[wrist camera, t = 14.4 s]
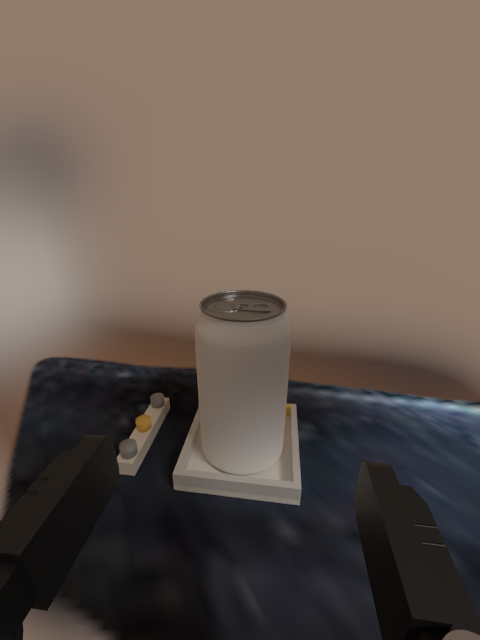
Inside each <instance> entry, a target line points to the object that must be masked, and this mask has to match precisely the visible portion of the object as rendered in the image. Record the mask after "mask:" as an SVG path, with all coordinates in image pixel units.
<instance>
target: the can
mask: <svg viewBox="0 0 480 640" xmlns="http://www.w3.org/2000/svg"><path fill="white" fill-rule="evenodd" d="M286 308H287V304H286V302H285V301H284V300H283V299H282V298H280V297H278V296H276V295H273V294H269V293H265V292H260V291H249V290H236V291H225V292H220V293H216V294H213V295H210V296H208V297H206V298H204V299H203V300H202V301H201V302H200V309H201V312H200V314H199V317H198V319H197V321H196V324H195V350H196V366H197V382H198V398H199V413H200V427H201V441H202V449H203V453H204V455H205V457H206V458H207V460H208V461H209V462H210V463H211V464H212V465H213V466H215V467H216V468H218V469H220V470H222V471H224V472H226V473H229V474H233V475H241V476H244V475H252V474H256V473H259V472H262V471H264V470H266V469H267V468H269V467H270V466H272V465H273V464H274V463H275V462H276V461H277V460H278V458H279V457H280V455H281V452H282V448H283V440H284V429H285V416H286V403H287V390H288V376H289V362H290V361H289V360H290V348H291V324H290V322H289V319H288V317H287V315H286V312H285V310H286Z"/></svg>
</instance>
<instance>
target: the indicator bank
mask: <svg viewBox="0 0 480 640" xmlns="http://www.w3.org/2000/svg"><path fill="white" fill-rule="evenodd" d="M150 400H151V404H150V405H149V407H148V409H147V410H146V412H145V413H144V415H141V416H139V417H137V418H136V428H135V429H134V431H133V432H132V434H131V436H130V437H129V439H126V440H124V441H122V442H121V443H120V445H119V450H120V453H119V455H118V456H117V461H118V465H119V474H123V475H131V476H135V475H136V473H137V471H138V469H139V467H140V465H141V463H142V461H143V459H144V458H145V456H146V454H147V452H148V450H149V448H150V446H151V444H152V442H153V440H154V438H155V436H156V435H157V433H158V431H159V429H160V427H161V425H162V423H163V421H164V419H165V417H166V415H167V413H168V412H169V410H170V401H169V398H164V395H163V394H162V393H155V394H153V395H151V397H150Z"/></svg>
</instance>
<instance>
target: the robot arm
mask: <svg viewBox="0 0 480 640" xmlns="http://www.w3.org/2000/svg"><path fill="white" fill-rule="evenodd" d="M118 479H119V465H118V461H117V457H116V452H115V448H114V444H113V440H112V438H111V437H110V436H101V435H90V434H88V435H85V436H84V437H83V438H82V439H81V440H80V441H79V443H78V444H77V445H76V446H75V447H74V449H73V450H66V451H65V452H64V453H62V454H61V455H60V456H58V457H57V458H55V459H54V460H53V461H51V462H50V463H49V465H48V466H47V467H46V468H45V469H44V470H43V472H42V473H41V474H40V475H39V476H38V479H37V480H36V481H34V482H33V483H32V485H31V486H30V487H29V488H28V489H27V492H26V494H23V495H22V496H21V498H20V499H19V500H18V501H17V502H16V503H15V505H14V506H13V507H12V508H11V509H10V511H9V512H8V513H7V514H6V515H5V516H4V518H3V519H2V520H1V521H0V640H23V624H22V623H23V621H24V619H25V618H26V616H27V614H28V613H29V611H30V609H31V608H34V609H39V610H45V611H47V610H48V608H49V607H50V605H51V603H52V601H53V599H54V598H55V596H56V594H57V592H58V590H59V589H60V587H61V585H62V583H63V581H64V580H65V578H66V576H67V574H68V572H69V571H70V569H71V567H72V565H73V564H74V562H75V560H76V558H77V556H78V555H79V553H80V551H81V549H82V547H83V546H84V544H85V542H86V540H87V538H88V537H89V535H90V533H91V531H92V530H93V528H94V526H95V524H96V522H97V521H98V519H99V517H100V515H101V513H102V512H103V510H104V508H105V506H106V504H107V503H108V501H109V499H110V497H111V495H112V494H113V492H114V490H115V488H116V486H117V483H118ZM354 505H355V516H356V521H357V526H358V530H359V535H360V540H361V544H362V549H363V553H364V558H365V562H366V567H367V572H368V576H369V581H370V585H371V590H372V594H373V599H374V604H375V608H376V613H377V617H378V622H379V626H380V631H381V636H382V640H480V620H479V618H478V616H477V613H476V611H475V609H474V607H473V605H472V602H471V600H470V598H469V596H468V594H467V591H466V589H465V587H464V585H463V583H462V580H461V578H460V576H459V574H458V572H457V569H456V567H455V565H454V563H453V560H452V558H451V556H450V554H449V552H448V549H447V548H445V543H444V541H443V538H442V536H441V534H440V532H439V530H437V525H436V523H435V521H434V519H433V516H432V514H431V512H430V510H429V507H428V505H427V504H426V503H425V501H424V500H423V499H422V498H421V497H420V496H419V494H418V493H417V492H416V491H415V490H414V489H413V488H412V486H404V485H399V483H398V480H397V478H396V475H395V473H394V470H393V468H392V466H391V465H390V464H384V463H373V462H362V464H361V468H360V473H359V477H358V482H357V487H356V492H355V500H354Z"/></svg>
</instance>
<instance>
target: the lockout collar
mask: <svg viewBox="0 0 480 640" xmlns="http://www.w3.org/2000/svg"><path fill="white" fill-rule="evenodd" d="M172 475H173V484H174V490H180V491H188V492H196V493H204V494H212V495H220V496H228V497H236V498H244V499H252V500H260V501H268V502H276V503H284V504H292V505H300V497H301V475H300V459H299V443H298V427H297V411H296V404H288V403H286V416H285V429H284V440H283V448H282V452H281V455H280V457H279V458H278V460H277V461H276V462H275V463H274V464H273V465H272V466H270V467H269V468H267V469H266V470H264V471H262V472H259V473H256V474H252V475H244V476H241V475H233V474H229V473H226V472H224V471H222V470H220V469H218V468H216V467H215V466H213V465H212V464H211V463H210V462H209V461H208V460H207V458H206V457H205V455H204V453H203V449H202V441H201V427H200V413H199V408H198V410H197V413H196V415H195V418H194V420H193V423H192V425H191V428H190V431H189V433H188V436H187V438H186V441H185V443H184V446H183V448H182V451H181V454H180V456H179V459H178V461H177V464H176V466H175V469H174V471H173V474H172Z"/></svg>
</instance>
